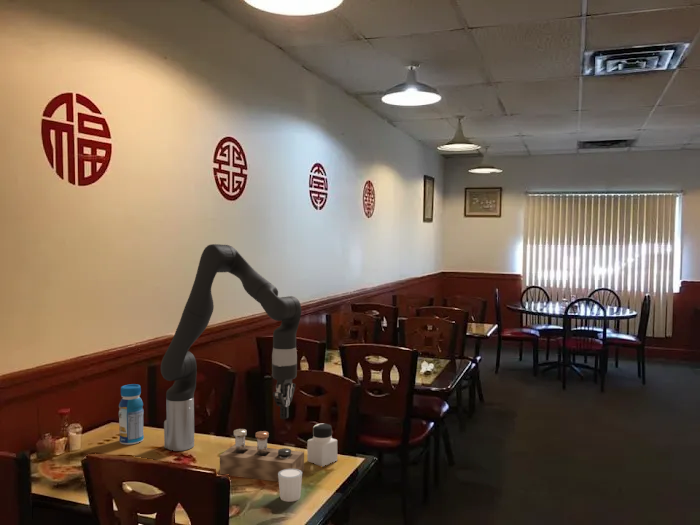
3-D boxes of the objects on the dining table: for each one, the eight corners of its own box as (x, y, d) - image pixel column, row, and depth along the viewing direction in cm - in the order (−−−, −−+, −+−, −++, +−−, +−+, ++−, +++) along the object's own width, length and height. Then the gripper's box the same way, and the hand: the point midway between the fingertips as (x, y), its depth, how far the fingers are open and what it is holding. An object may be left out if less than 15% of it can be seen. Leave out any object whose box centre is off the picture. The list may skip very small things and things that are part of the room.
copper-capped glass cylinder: (253, 457, 183) (253, 434, 183) (259, 453, 187) (258, 430, 187) (265, 458, 182) (265, 435, 182) (270, 454, 186) (270, 431, 186)
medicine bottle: (337, 461, 194) (337, 424, 194) (322, 467, 189) (322, 430, 189) (322, 455, 199) (322, 420, 199) (306, 461, 194) (306, 425, 194)
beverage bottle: (139, 445, 209) (138, 389, 208) (115, 445, 209) (114, 389, 208) (147, 437, 217) (146, 383, 217) (124, 437, 218) (123, 383, 217)
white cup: (292, 504, 163) (292, 479, 162) (273, 498, 166) (272, 474, 166) (307, 495, 168) (307, 471, 168) (288, 490, 172) (288, 466, 172)
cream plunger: (231, 455, 185) (231, 432, 185) (237, 450, 189) (237, 428, 189) (243, 456, 184) (243, 433, 184) (248, 452, 188) (248, 429, 188)
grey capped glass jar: (276, 475, 182) (275, 452, 181) (281, 470, 185) (281, 447, 185) (288, 476, 180) (288, 453, 180) (293, 471, 184) (293, 449, 184)
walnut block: (219, 474, 184) (219, 455, 183) (234, 462, 193) (234, 444, 193) (292, 483, 177) (292, 463, 177) (304, 470, 186) (304, 451, 186)
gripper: (281, 357, 189) (281, 410, 190) (264, 365, 176) (264, 423, 177) (303, 358, 187) (303, 413, 187) (287, 367, 174) (287, 425, 175)
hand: (284, 418), depth 182 cm, fingers closed
